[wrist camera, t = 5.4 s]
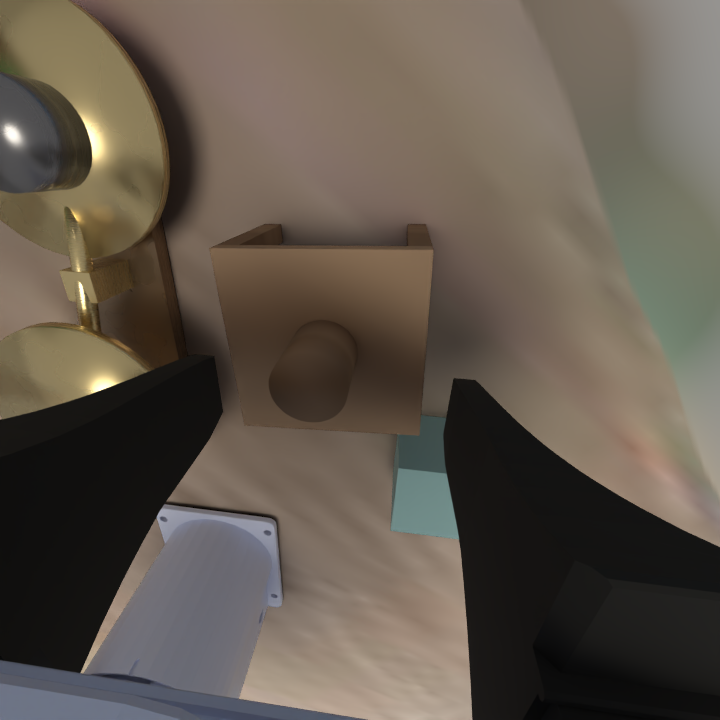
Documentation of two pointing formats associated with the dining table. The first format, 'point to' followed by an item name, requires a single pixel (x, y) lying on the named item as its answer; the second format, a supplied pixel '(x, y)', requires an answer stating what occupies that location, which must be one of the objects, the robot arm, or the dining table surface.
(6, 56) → the balance
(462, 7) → the dining table surface
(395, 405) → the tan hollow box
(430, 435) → the block
